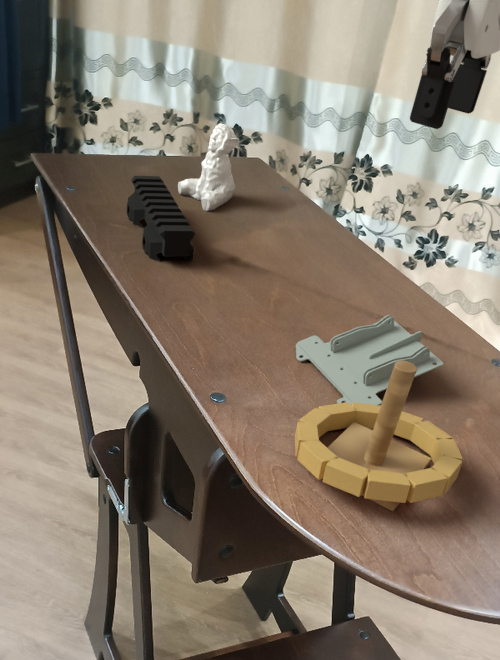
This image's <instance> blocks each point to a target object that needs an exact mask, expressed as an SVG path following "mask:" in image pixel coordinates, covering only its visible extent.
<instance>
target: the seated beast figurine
mask: <svg viewBox="0 0 500 660" xmlns="http://www.w3.org/2000/svg"><path fill="white" fill-rule="evenodd" d="M209 137H210V138H209V141H208V147H207V150H208V151H207V153H206V154H205V158H204V159H203V160H202V161H201V163H200V164H201V175H200V177H198V178H192V177H190V178H185V179H184V180H181V181H178V182H177V191H178V194H179V195H182V196H190V197H192V198H194V199H196V201H200V203H201V208H202V210H203V211H205V212H209V211H213V210H214V211H215V210H216V209H217V208H220V206H222V205H224V204H225V203H227V202H228V201H230V200H231V199H232V197H233V194H234V192H235V191H236V187H237V186H236V183H235V179H234V176H233V174H232V163H231V160H230V158H229V156H228V154H230V153H231V152H232V151H233V149H235V148H236V147H238V146H239V144H240V138H239V137H237V135H236V134H235V131H234V129H231V128H230V127H229V126H228V125H226V124H225V123H222V122H220V123H218V124H217V125H215V127H214V128H213V129H212V134H210V135H209Z"/></svg>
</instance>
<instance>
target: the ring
mask: <svg viewBox="0 0 500 660" xmlns="http://www.w3.org/2000/svg"><path fill="white" fill-rule="evenodd" d="M380 407H381V406H380V405H371V404H362V403H354V402H352V404H349V403H348V402H342V403H338V404H337V403H332V404H326V405H318V407H314V408H313V409H311V410H310V411H309V412H307V413H306V414H305V415H304V416H302V417H301V418H299V419H298V422H297V424H296V430H295V435H294V445H295V446H294V448H295V449H294V450H295V458H297V461H298V463H300V464H301V465H302V466H303V467H304V468H305V469H306V470H307V471H308V472H309V473H310V474H312V475H313V476H314V477H315V478H316V479H317V481H320V480H322V483H324V484H327V485H328V486H332V487H333V488H336V489H338V490H340V491H343V492H345V493H348V494H350V495H353V496H355V497H357V498H360V497H361V496H362V494H363V493H364V496H363V497H364V499H365V500H369V499H374V500H383V501H391V502H400V503H401V504H406V503H407V502H409V503H410V504H412V503H413V504H414V503H418V502H421V501H426V500H429V499H434V498H439V497H442V496H443V495H446V493H447V492H448V490H449V489H450V488H451V487H452V485H453V484H454V483H455V482H456V480H457V479H458V476H459V474H460V470H461V469H462V468H461V467H462V465H463V459H464V458H463V455H462V454H461V451H460V449H459V447H458V445H457V442H456V440H455V439H453V437H452V436H451V435H450V434H449V433H447V432H445V431H444V430H442V429H441V428H440V427H438V426H437V425H435V424H433V423H432V422H431V421H430V420H425V418H423V417H420V416H418V415H414V414H411V413H409V412H406V411H403V410H402V413H401V416H400V418H399V421H398V424H397V427H396V430H395V432H394V435H393V436H397V437H400V438H403V439H405V440H408V441H409V442H412V443H413V444H414V445H415V446H417V447H418V448H419V449H421V450H422V451H424V452H425V453H426V454H427V455H429V457H430V458H432V459H431V461H432V464H433V465H432V466H431V467H428V468H427V469H423V470H418V471H414V472H409V473H395V472H386V471H377V470H370V469H367V468H364V467H362V466H359V465H357V464H354V463H352V462H349V461H346V460H344V459H341V458H339V457H337V456H336V455H335V454H334V453H333V452H332V451H330V450H329V449H328V446H326V445H325V444H324V443H322V441H320V438H321V437H322V436H324V435H325V434H326V433H327V432H330V431H331V432H332V431H336V430H337V431H338V430H342V429H343V430H344V429H347V428H348V427H349V426H350V425H351V424H352V423H353V422H356V423H358V424H360V425H362V426H364V427H366V428H369V429H371V430H373V429H374V426H375V423H376V420H377V417H378V414H379V411H380ZM400 503H399V504H400Z"/></svg>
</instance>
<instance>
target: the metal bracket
mask: <svg viewBox="0 0 500 660" xmlns="http://www.w3.org/2000/svg"><path fill="white" fill-rule="evenodd" d="M422 337H423V331H422V330H419V331H417V332H414V333H412V334H411V333H409V332H408V330H406V329H405V328H404V327H402V325H400V324H399V323H398V322H397V321H395V318H394V317H393V316H392V315H390V314H387V315H385V316H384V317H382V318H381V319H380V320H378V321H377V322H375V323H371V324H368V325H361V326H357V327H354V328H352V329H350V330H347V331H345V332H342V333H340V334H337V335H335V336H333V337H332V338H331V339H330V341H328V342H324V341H323V340H322V338H321V337H319V336H317V335H315V334H314V335H311V336H309V337H307V338H304V339H301V340H299V341H297V343H295V356H296V357H295V359H296V360H297V361H298V362H300V363H302V362H305V361H310V362H311V363H312V364H313V366H315V367H316V369H317V370H318V371H319V372H320V373H321V374H322V375H323V376H324V377H325V378H326V379H327V381H328V382H329V383H331V385H332V386H333V387H334V388H335V389H336V390H337V391H338V392H339V393H340V394H341V395H342V396H343V397H342V396H341V398H338V399H337V400H336V404H338V403H345V402H348V403H349V404H352V402H354V403H362V404H371V405H380V406H381V404H382V401H383V400H382V399H381V398H379V396H378V395H377V394H379V393H382V392H384V391H386V389H387V386H388V383H389V380H390V377H391V374H392V371H393V368H394V365H395V363H396V362H397V361H407V362H410V363H412V364H414V365H415V366H416V367H417V371H416V374H415V376H414V378H417V377H419V376H421V375H423V374H427V373H429V372H431V371H433V370H436V369H438V368H440V367H442V366H443V365H444V362H443V361H442V360H441V359H440V358H439V357H437V356H436V355H435V354H434V353H433V352H432V351H431V349H430V348H429V347H428V346H426V345H423V344H422V343H421V341H422Z"/></svg>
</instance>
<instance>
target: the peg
mask: <svg viewBox="0 0 500 660" xmlns="http://www.w3.org/2000/svg"><path fill="white" fill-rule="evenodd" d="M416 371H417V367H416V366H415V365H414V364H412V363H410V362H407V361H397V362H396V363H395V365H394V368H393V371H392V374H391V377H390V380H389V383H388V386H387V389H386V390H385V393H384V396H383V399H382V400H381V401H382V404H381V407H380V411H379V414H378V417H377V420H376V423H375V426H374V429H369V428H366V427H364V426H362V425H360V424H358V423H356V422H353V423H352V424H351V425H350V426H349V427H348V428H345V429H344V431H343V432H341V434H340V435H338V437H336V439H334V440H333V441H332V442H331V443H330V444H329V445H328V446H327V448H328V449H329V450H330V451H332V452H333V453H334V454H335V455H336V456H337V457H339V458H341V459H344V460H346V461H349V462H352V463H354V464H357V465H359V466H362V467H364V468H367V469H370V470H377V471H386V472H395V473H409V472H414V471H418V470H423V469H428V468H430V467H429V466H430V464H431V461H432V458H431V456H428V455H426V454H424V453H421V452H419V451H418V450H415V449H413V448H411V447H410V446H409V447H408V446H407V445H404V444H403V443H400V442H399V441H396V440H394V439H393V438H394V436H395V435H394V432H395V430H396V427H397V424H398V421H399V418H400V416H401V413H402V411H403V410H404V407H405V404H406V402H407V398H408V396H409V393H410V390H411V388H412V386H413V381H414V379H415V377H414V376H415V374H416ZM361 496H362V497H364V493H363V494H362V495H361ZM368 500H370V501H372V502H374V503H375V504H377V505H379V506H381V507H382V508H385V509H387V510H389V511H391V512H394V511H395V510H396V508H398V506H399V505H400V502H391V501H383V500H374V499H368Z"/></svg>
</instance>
